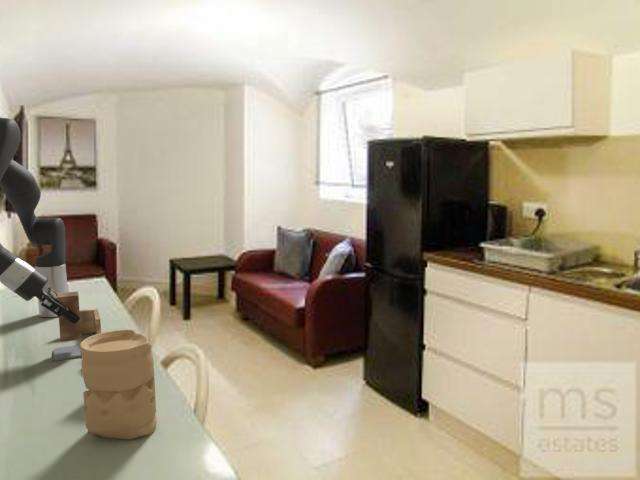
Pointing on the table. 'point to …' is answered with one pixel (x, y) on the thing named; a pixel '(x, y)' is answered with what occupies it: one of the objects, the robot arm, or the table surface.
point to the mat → (67, 353)
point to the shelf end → (90, 321)
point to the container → (119, 384)
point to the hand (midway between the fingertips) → (77, 318)
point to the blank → (66, 327)
